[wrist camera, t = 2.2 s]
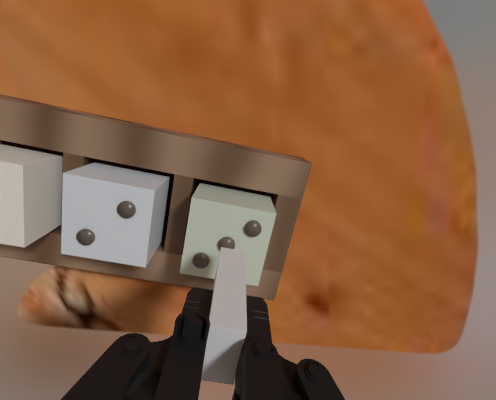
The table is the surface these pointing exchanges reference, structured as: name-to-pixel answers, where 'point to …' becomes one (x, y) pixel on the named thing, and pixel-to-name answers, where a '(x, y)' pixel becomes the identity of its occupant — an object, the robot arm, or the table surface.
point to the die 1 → (29, 194)
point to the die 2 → (113, 213)
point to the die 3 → (227, 230)
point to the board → (165, 160)
